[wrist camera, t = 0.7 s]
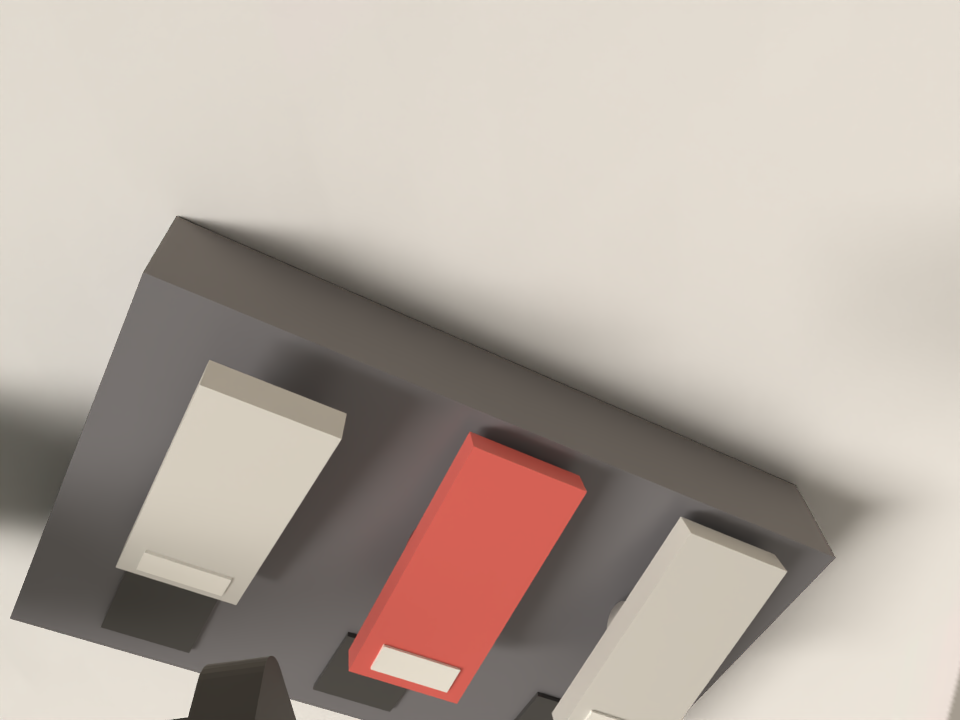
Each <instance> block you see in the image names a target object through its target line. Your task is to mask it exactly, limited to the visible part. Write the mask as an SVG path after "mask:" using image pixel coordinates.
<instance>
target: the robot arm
mask: <svg viewBox="0 0 960 720" xmlns="http://www.w3.org/2000/svg"><path fill="white" fill-rule="evenodd" d="M173 720H296V718H295V715H294V711H293V708H292V705H291V702H290V698H289V695H288V692H287V689H286V685H285V682H284V679H283V675H282V672H281V669H280V666H279V663H278V661H277V659H276V658H275V657H274V656H267V657H259V658H252V659H244V660H237V661H230V662H222V663H215V664H207V665H206V666H204V668H203V669H202V671H201V673H200V676H199V679H198V682H197V686H196V690H195V693H194V697H193V701H192V705H191V708H190V712H189V716H188V718H180V719H173Z"/></svg>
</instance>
